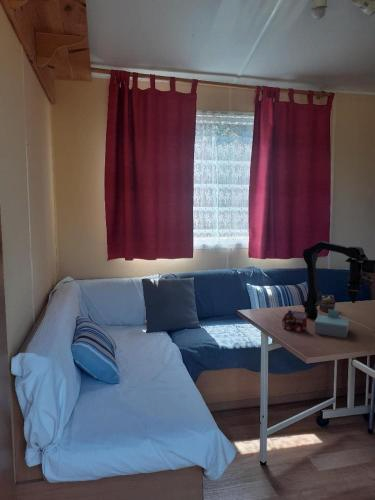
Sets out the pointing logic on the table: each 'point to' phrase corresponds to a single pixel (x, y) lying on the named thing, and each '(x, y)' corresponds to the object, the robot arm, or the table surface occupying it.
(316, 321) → the lid
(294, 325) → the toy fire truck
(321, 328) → the tub
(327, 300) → the cupcake
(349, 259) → the robot arm
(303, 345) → the table surface
